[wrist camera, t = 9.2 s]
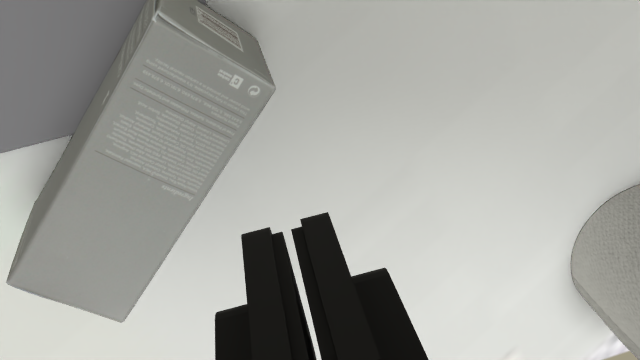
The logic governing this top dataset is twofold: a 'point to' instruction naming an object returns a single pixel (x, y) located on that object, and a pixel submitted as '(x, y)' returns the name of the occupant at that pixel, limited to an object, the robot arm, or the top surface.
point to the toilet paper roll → (612, 266)
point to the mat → (56, 63)
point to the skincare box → (142, 158)
